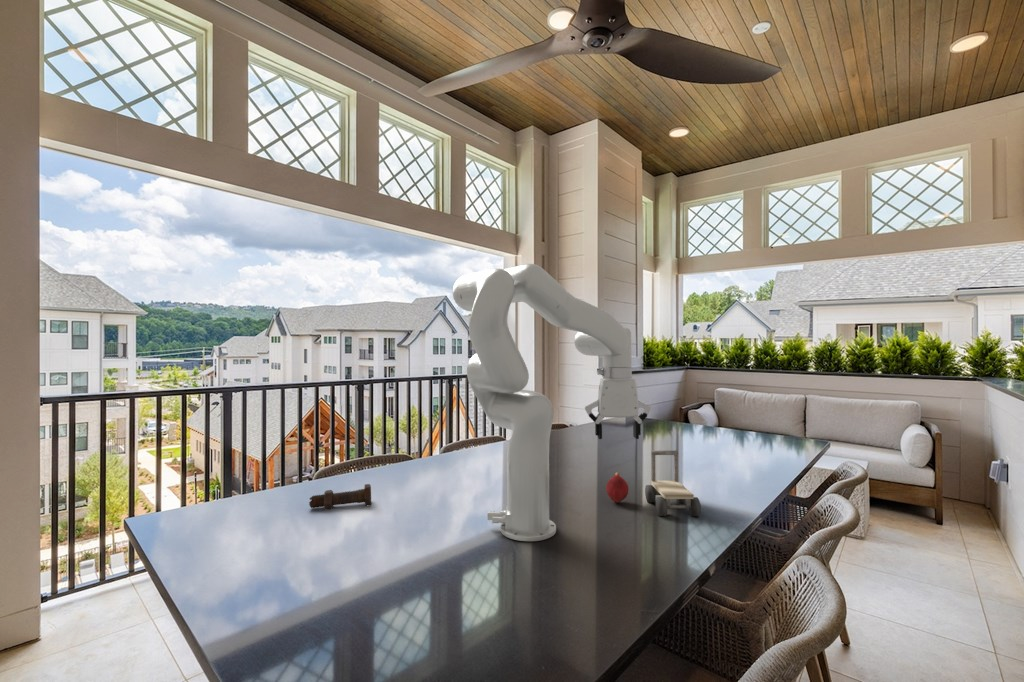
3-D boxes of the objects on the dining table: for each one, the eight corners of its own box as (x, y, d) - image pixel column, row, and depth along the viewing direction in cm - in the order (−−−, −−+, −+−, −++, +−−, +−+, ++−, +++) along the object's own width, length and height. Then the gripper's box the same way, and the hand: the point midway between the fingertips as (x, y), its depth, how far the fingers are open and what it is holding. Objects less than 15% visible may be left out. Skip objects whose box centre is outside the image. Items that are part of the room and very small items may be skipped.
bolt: (310, 515, 122) (371, 508, 126) (308, 511, 118) (371, 504, 122) (311, 492, 125) (371, 486, 129) (309, 488, 121) (370, 481, 125)
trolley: (700, 518, 114) (700, 462, 114) (660, 518, 114) (660, 462, 114) (680, 499, 128) (680, 449, 128) (645, 499, 128) (644, 449, 129)
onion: (630, 506, 122) (630, 475, 122) (608, 506, 123) (608, 475, 123) (625, 499, 128) (625, 470, 128) (604, 499, 128) (604, 469, 128)
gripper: (586, 375, 122) (587, 441, 122) (653, 374, 122) (654, 440, 122) (582, 373, 130) (583, 435, 130) (646, 372, 129) (646, 435, 129)
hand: (617, 438), depth 126 cm, fingers open, 9 cm apart
